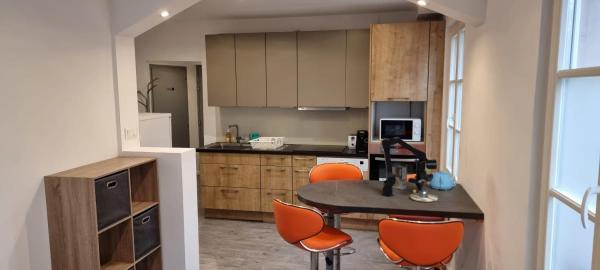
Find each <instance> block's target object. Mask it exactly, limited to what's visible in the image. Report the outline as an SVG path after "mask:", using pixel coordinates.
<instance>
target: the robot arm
mask: <svg viewBox="0 0 600 270" xmlns="http://www.w3.org/2000/svg"><path fill="white" fill-rule="evenodd" d="M397 144H398V145H400V146H401V147H403V148H404V149H406V150H408V151H409V152H411V153H412V154H413V155H414V156H415V157H416V158H415V159H414V160H413V163H415V166H416V167H415V170H414V172H415V176H414V177H409V178H407V182H408V183H410V184H415V186H416V188H417V189H416V190H417V191H418V192H419V190H423V187H424V185H425V184H426V183H427V182H428V183H430V182H429V181H431V180H432V179H433V174H434V173H433V174H431V173H428V172H427V170H437V168H438V165H437V160H436V159H429V158H428V157H427V154H426V152H425V151H423V150H421V149H419V148H416V147H414V146H413V145H411V144H409V143H407V142H406V141H404V140H403V139H402V138H400V137H399V136H397V137H392V138H386V137H385V138H382V139H381V141H380V145H381V147H382V149H383V155H384V162H385V169H386V175H385V180H384V181H383V182H382V184H383V186H382V193H381V194H380V195H381V196H383V197H392V196H394V194H393V192H394V191H393V189H394V188H392V186H393V185H394V184H395V182H396V181H395V180H396V175H395V173H393V172H392V167H393V165H392V158H391V146H393V145H394V146H395V145H397ZM426 169H427V170H426Z"/></svg>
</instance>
